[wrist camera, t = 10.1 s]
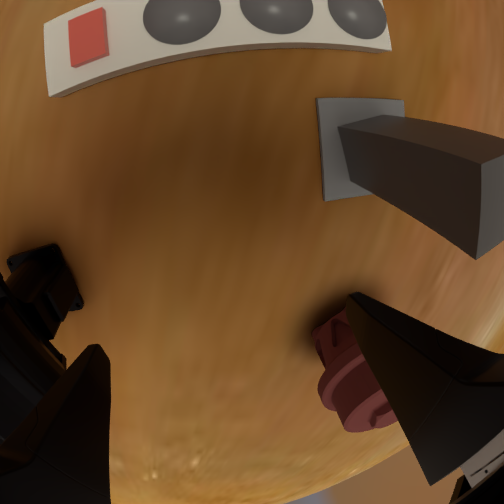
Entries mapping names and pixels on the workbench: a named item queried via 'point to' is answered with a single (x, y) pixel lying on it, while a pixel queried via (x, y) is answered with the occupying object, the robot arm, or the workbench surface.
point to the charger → (432, 175)
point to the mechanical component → (349, 379)
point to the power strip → (198, 33)
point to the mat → (331, 148)
